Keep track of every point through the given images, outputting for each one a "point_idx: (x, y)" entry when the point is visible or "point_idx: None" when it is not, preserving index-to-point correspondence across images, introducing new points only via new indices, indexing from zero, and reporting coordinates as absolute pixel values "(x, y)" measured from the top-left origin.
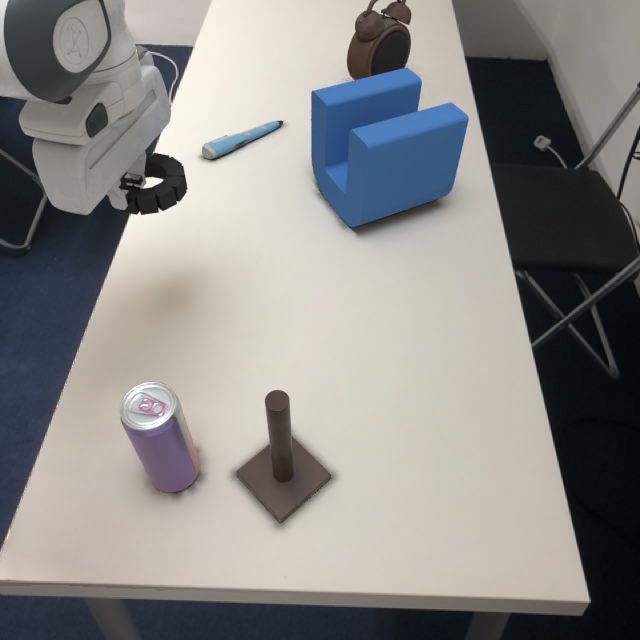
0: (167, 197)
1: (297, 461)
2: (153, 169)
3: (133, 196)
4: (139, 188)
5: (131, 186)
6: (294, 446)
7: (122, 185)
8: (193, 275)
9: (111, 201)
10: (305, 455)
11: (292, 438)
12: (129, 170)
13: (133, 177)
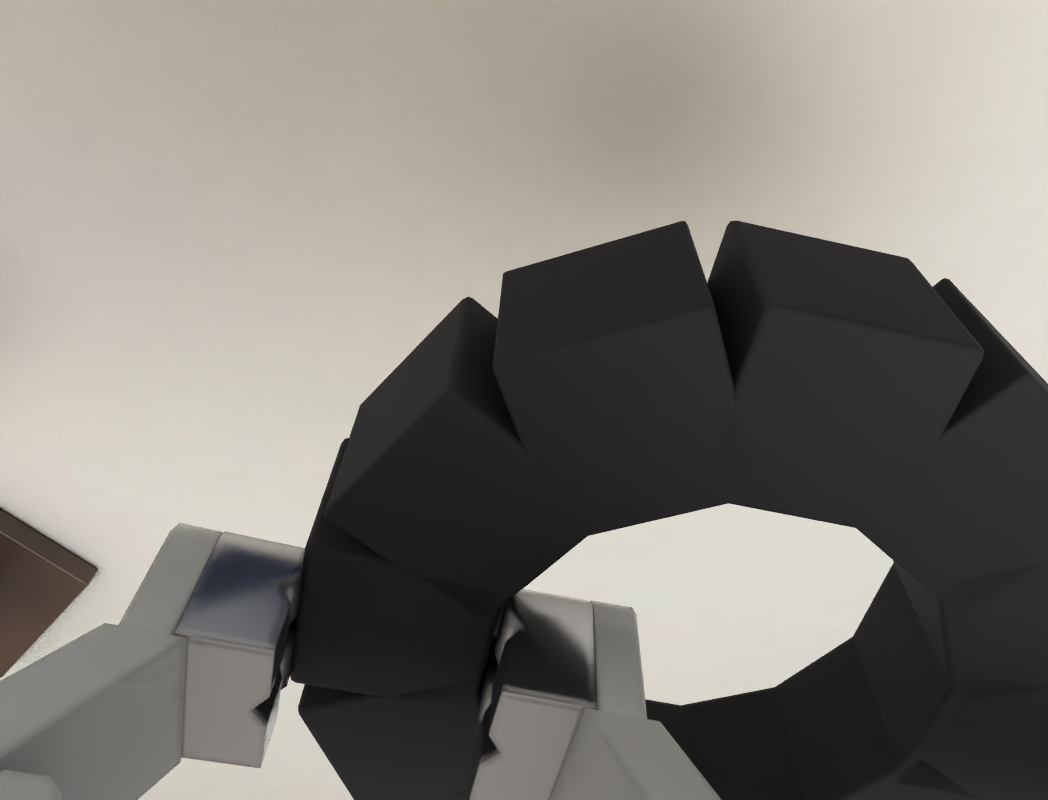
0: None
1: (3, 613)
2: (905, 658)
3: (346, 678)
4: (480, 698)
5: (496, 642)
6: (45, 604)
7: (513, 560)
8: (789, 181)
9: (152, 573)
10: (30, 627)
11: (68, 599)
12: (591, 751)
13: (497, 768)
